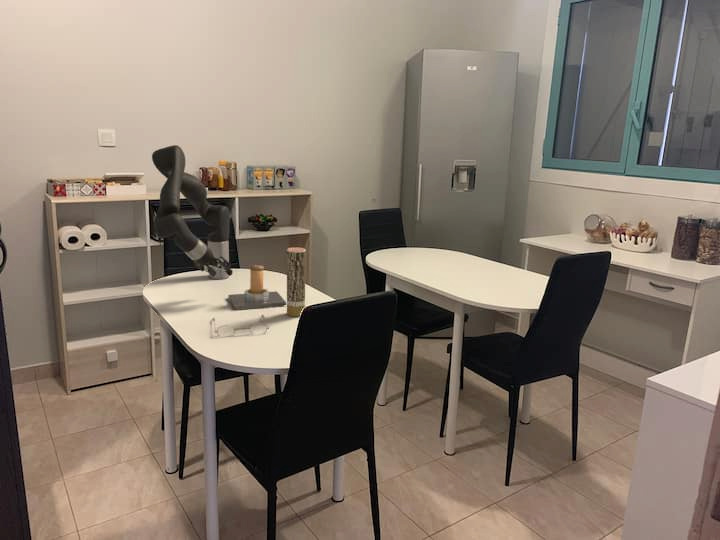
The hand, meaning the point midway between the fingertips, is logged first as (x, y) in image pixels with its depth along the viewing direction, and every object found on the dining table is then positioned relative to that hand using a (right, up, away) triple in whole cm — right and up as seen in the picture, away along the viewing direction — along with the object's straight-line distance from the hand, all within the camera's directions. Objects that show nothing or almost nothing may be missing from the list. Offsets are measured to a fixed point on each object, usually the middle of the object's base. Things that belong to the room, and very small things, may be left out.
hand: (223, 274), depth 226 cm
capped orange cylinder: (+14, -10, -1) cm, 17 cm away
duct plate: (+14, -11, 0) cm, 18 cm away
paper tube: (+31, -15, -13) cm, 37 cm away
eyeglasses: (+13, -19, -27) cm, 35 cm away
